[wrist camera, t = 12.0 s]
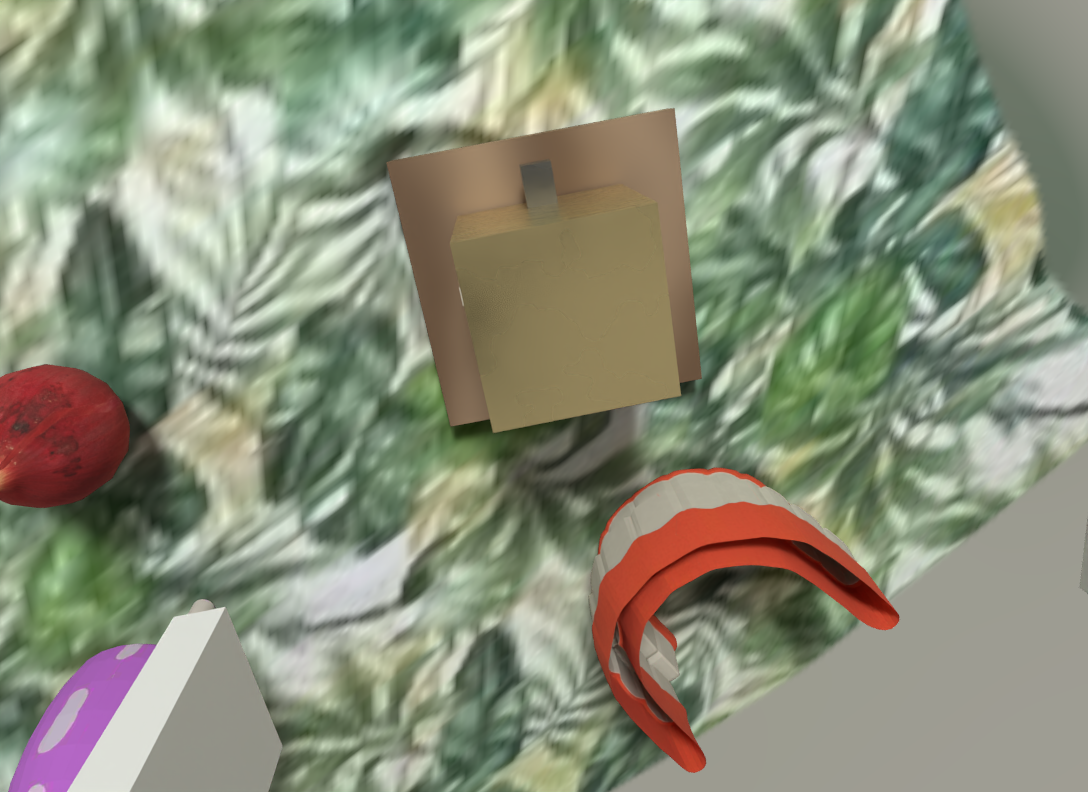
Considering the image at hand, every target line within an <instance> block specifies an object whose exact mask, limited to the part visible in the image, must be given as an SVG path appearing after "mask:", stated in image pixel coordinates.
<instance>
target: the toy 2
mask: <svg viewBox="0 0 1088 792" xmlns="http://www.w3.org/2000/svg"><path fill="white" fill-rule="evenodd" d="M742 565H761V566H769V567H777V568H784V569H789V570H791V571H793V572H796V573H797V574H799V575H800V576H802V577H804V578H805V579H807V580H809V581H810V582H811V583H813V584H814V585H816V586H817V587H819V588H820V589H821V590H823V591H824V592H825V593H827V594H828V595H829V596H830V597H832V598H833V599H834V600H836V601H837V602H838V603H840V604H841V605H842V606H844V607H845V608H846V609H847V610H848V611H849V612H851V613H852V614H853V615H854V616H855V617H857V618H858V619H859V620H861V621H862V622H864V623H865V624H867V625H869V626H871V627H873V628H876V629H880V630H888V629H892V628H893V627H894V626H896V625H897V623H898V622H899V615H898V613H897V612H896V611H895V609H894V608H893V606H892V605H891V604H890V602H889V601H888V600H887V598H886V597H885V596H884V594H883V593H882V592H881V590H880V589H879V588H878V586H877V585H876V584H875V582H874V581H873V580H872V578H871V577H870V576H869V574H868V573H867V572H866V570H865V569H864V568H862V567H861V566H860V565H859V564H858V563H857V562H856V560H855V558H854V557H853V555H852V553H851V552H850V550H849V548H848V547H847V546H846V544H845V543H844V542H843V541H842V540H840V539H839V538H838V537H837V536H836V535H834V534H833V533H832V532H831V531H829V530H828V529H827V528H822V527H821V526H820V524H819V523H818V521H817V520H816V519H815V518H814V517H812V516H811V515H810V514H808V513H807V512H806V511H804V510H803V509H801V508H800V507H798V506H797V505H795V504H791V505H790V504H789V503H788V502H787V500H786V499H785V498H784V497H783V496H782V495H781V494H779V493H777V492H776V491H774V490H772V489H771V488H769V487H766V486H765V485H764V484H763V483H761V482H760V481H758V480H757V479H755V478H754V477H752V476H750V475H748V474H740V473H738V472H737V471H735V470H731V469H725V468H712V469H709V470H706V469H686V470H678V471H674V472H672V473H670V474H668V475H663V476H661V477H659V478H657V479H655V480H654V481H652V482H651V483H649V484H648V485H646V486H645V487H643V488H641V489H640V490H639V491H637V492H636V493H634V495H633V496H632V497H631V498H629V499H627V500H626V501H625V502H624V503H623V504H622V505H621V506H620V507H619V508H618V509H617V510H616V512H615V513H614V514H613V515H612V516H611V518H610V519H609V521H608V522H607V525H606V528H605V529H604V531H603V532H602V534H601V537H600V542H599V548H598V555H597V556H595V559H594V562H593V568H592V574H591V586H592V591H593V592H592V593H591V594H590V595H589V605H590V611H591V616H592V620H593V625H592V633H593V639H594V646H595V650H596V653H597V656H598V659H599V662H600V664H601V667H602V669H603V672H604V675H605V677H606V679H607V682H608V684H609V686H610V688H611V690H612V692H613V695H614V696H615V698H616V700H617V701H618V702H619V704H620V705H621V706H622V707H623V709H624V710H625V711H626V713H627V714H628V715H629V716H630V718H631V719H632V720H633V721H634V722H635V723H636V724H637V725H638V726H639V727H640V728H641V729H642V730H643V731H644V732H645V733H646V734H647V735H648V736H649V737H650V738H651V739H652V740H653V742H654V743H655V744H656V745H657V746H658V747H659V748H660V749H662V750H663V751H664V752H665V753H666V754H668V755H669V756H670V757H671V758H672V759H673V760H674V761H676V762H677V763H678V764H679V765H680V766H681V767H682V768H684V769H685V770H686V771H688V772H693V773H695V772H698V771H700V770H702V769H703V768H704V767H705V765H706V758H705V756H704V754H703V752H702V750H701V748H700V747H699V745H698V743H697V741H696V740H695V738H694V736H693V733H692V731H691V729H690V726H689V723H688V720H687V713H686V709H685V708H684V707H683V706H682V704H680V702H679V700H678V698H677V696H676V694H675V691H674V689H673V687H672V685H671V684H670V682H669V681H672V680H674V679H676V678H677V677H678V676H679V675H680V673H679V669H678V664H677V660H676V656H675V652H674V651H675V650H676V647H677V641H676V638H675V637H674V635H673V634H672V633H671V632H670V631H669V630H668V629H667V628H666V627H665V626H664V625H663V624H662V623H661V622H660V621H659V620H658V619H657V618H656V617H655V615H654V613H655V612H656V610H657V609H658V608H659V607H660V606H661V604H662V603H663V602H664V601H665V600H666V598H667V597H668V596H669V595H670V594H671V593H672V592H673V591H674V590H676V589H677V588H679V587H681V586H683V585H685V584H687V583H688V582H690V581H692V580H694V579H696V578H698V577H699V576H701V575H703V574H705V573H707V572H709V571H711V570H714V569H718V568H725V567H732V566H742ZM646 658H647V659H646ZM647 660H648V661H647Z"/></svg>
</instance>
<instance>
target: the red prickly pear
mask: <svg viewBox="0 0 1088 792" xmlns="http://www.w3.org/2000/svg"><path fill="white" fill-rule="evenodd" d="M129 435H130V426H129V421H128V418H127V415H126V412H125V409H124V406H123V403H122V401H121V400H120V399H119V398H118V396H117V395H116V394H115V393H114V392H113V390H112V389H111V388H110V387H109V385H108V384H107V383H105V382H103V381H102V380H100V379H98V378H96V377H94V376H92V375H91V374H89V373H87V372H85V371H83V370H80V369H76V368H69V367H62V366H55V365H48V364H45V365H40V366H35V367H31V368H27V369H24V370H20V371H16V372H13V373H9V374H6V375H4V376H2V377H1V378H0V500H1V501H3V502H5V503H8V504H11V505H19V506H27V507H36V508H47V507H53V506H58V505H63V504H69V503H73V502H76V501H79V500H82V499H84V498H85V497H87V496H88V495H89V494H91V493H92V492H94V491H95V490H96V489H98V488H99V487H101V486H102V485H103V484H105V483H106V482H108V481H109V480H110V479H112V478H113V476H114V474H115V472H116V470H117V468H118V466H119V465H120V463H121V461H122V460H123V458H124V457H125V455H126V453H127V452H128V447H129Z"/></svg>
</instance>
